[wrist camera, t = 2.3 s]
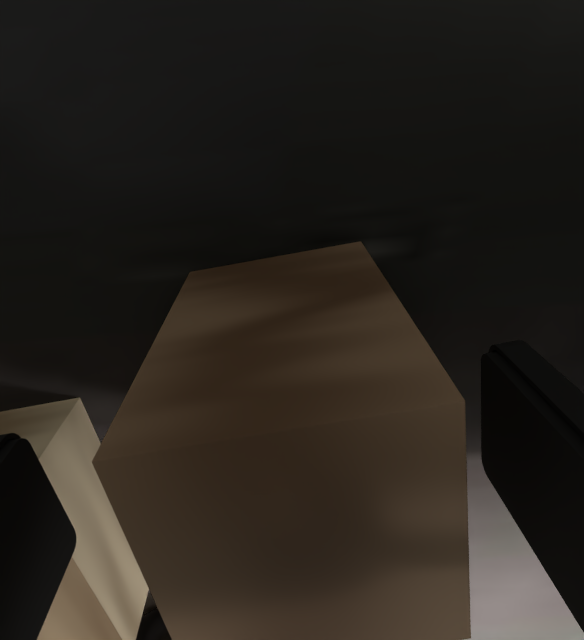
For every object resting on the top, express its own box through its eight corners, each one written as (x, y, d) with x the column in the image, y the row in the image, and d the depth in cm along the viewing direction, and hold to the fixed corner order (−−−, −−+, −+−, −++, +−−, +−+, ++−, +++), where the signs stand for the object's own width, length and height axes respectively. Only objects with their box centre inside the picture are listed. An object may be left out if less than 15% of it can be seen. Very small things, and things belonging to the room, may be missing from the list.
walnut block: (360, 241, 13) (465, 401, 6) (377, 387, 15) (470, 638, 8) (189, 271, 14) (91, 462, 6) (229, 412, 16) (189, 678, 8)
